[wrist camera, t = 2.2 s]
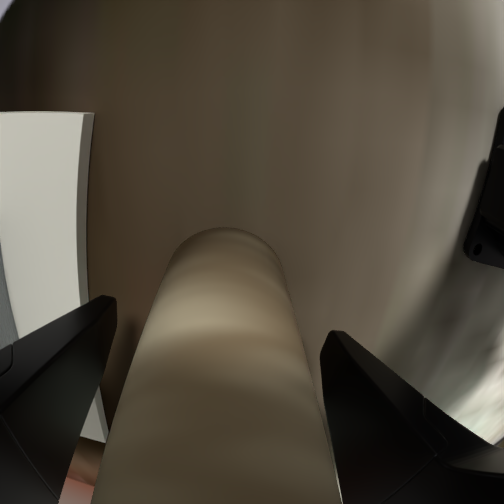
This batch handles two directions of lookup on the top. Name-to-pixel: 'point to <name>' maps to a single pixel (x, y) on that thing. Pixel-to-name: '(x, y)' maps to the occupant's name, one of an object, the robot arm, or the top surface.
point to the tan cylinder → (219, 389)
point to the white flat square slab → (44, 226)
